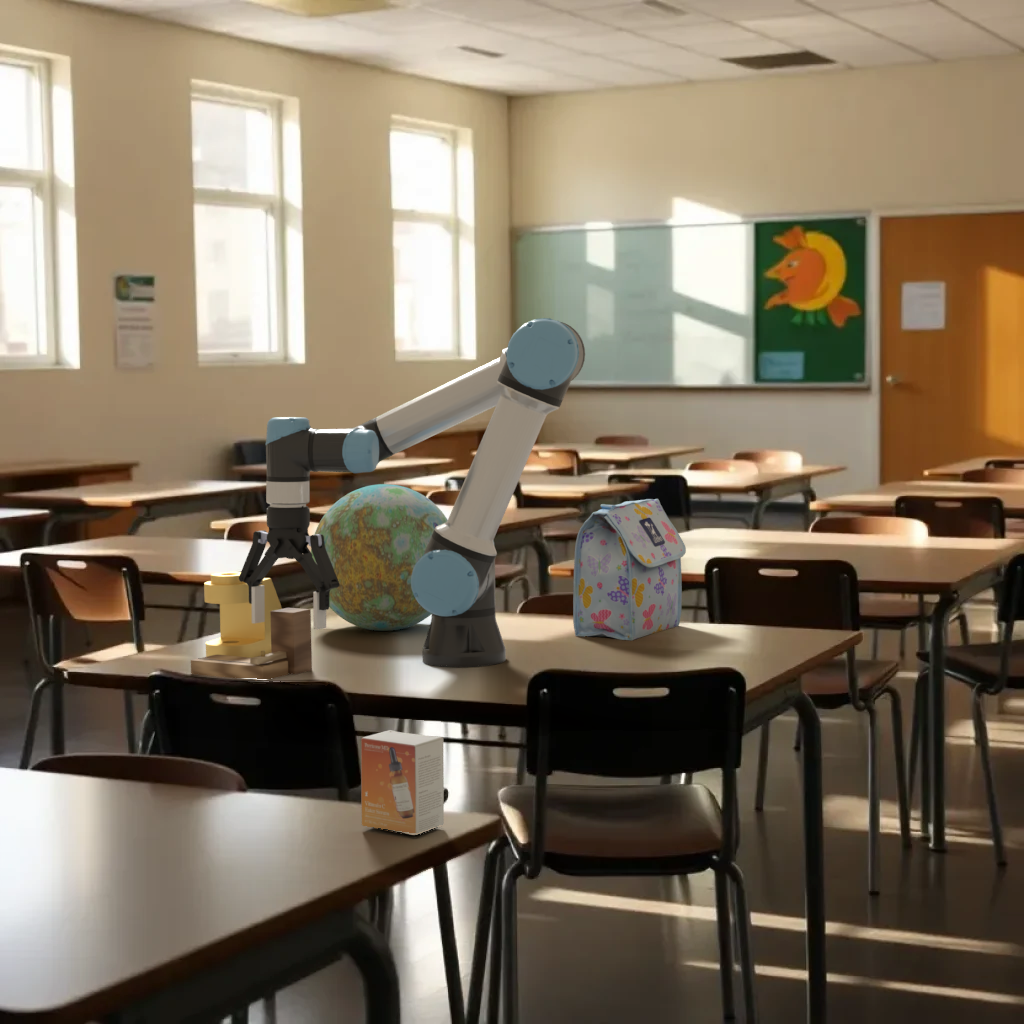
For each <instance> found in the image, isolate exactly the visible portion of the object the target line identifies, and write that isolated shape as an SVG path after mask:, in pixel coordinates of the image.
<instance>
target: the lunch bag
mask: <svg viewBox="0 0 1024 1024" xmlns="http://www.w3.org/2000/svg"><path fill="white" fill-rule="evenodd" d="M600 508H601V509H598V510H597V511H593V512H592V513H591V514H590V516H589V517H588V518H587V519H586V520H585V521H584V522H583V524H582V525H581V527H580V528H579V530H578V533H577V537H576V540H575V546H574V563H573V595H572V596H573V599H572V600H573V601H572V604H573V608H572V610H573V611H572V612H573V613H572V614H573V619H572V620H573V623H572V624H573V629H574V635H575V637H585V636H587V637H608V638H613V639H615V640H616V639H617V640H621V641H622V640H623V641H625V640H626V641H634V640H638V639H640V638H643V637H646V636H648V635H651V634H655V633H658V632H662V631H665V630H668V628H669V629H673V628H676V627H679V625H680V622H681V618H682V617H681V616H682V592H683V591H682V584H683V583H682V578H683V577H682V560H681V559H682V558H683V557H684V556H685V554H686V552H687V548H686V544H685V542H684V540H683V539H682V538H681V535H680V534H679V532H678V530H677V529H676V527H675V526H674V524H673V523H672V521H671V520H670V519H669V516H668V515H667V513H666V512H665V510H664V508H663V506H662V505H661V502H660V500H659V498H655V499H653V498H646V499H640V500H639V499H638V500H629V501H628V500H627V501H623V502H621V503H619V504H605V503H602V504H600Z"/></svg>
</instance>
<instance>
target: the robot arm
mask: <svg viewBox="0 0 1024 1024" xmlns="http://www.w3.org/2000/svg"><path fill="white" fill-rule="evenodd" d="M585 359H586V349H585V343H584V341H583V338H582V337H581V335H580V334H579V332H578V331H577V330H576V329H575V328H573V327H572V326H571V325H569V324H567V323H565V322H563V321H559V320H555V319H552V318H550V317H549V318H547V317H546V318H545V317H542V318H541V317H540V318H535V319H532V320H529V321H528V322H525V323H523V324H522V325H521V326H519V328H518V329H516V331H515V332H513V334H512V336H511V338H510V339H509V341H508V344H507V347H505V348H503V349H502V352H501V355H500V356H499V357H498V358H496V359H493V360H492V361H490V362H488V363H486V364H483V365H482V366H479V367H477V368H475V369H473V370H470V371H469V372H467V373H465V374H462V375H461V376H458V377H456V378H455V379H452V380H450V381H448V382H446V383H444V384H442V385H439V386H438V387H436V388H434V389H432V390H430V391H428V392H425V393H424V394H421V395H419V396H417V397H415V398H414V399H411V400H409V401H407V402H404V403H402V404H401V405H399V406H396V407H394V408H392V409H390V410H388V411H386V412H384V413H382V414H380V415H378V416H377V417H374V418H371V419H369V420H366V421H365V422H362V423H361V424H359V425H357V426H355V427H349V428H348V427H347V428H337V429H336V428H327V429H325V428H324V429H323V428H322V429H319V428H312V427H311V425H310V420H309V418H307V417H300V416H299V417H298V416H297V417H296V416H287V417H286V416H283V417H282V416H279V417H278V416H277V417H271V418H270V419H269V420H268V421H267V424H266V437H265V438H266V441H265V455H266V456H265V459H266V460H265V461H266V463H265V464H266V481H265V482H266V488H265V489H266V491H265V492H266V494H265V496H266V497H265V498H266V503H267V504H268V505H269V506H267V508H266V526H267V527H268V532H267V530H266V529H265V530H258V531H257V530H255V531H254V532H253V535H252V544H251V547H250V549H249V550H248V551H249V552H248V554H247V556H246V559H245V561H244V564H243V566H242V569H241V571H240V572H241V573H240V576H239V580H240V581H241V582H245V583H247V585H248V587H249V603H250V604H252V623H260V622H265V601H264V585H260V584H262V583H261V582H262V580H263V579H264V578H266V577H267V575H268V574H269V572H270V570H271V569H272V567H273V566H274V565H275V563H276V562H277V560H278V559H289V560H295V561H296V562H298V563H299V564H300V565H301V567H302V569H303V570H304V571H305V573H306V574H307V577H308V578H309V580H310V581H311V582H312V584H313V585H314V587H315V588H316V590H315V591H313V592H312V593H313V596H312V597H313V602H312V603H313V605H312V607H313V621H312V622H313V630H321V629H327V610H329V609H330V607H329V593H330V590H331V589H334V588H337V587H339V581H338V579H337V576H336V574H335V571H334V569H333V566H332V563H331V561H330V558H329V556H328V553H327V551H326V548H325V543H324V536H323V535H322V534H316V535H314V534H312V535H310V534H309V527H310V525H311V515H310V514H311V513H310V512H311V509H310V508H309V506H307V504H309V503H310V502H311V501H310V476H311V475H310V474H311V473H310V472H313V473H317V472H318V473H319V472H324V473H326V472H328V473H353V474H362V473H372V472H374V471H375V470H376V469H377V466H378V464H379V463H380V462H382V461H384V460H385V459H388V458H390V457H392V456H394V455H396V454H398V453H400V452H402V451H404V450H406V449H408V448H411V447H412V446H415V445H417V444H419V443H422V442H423V441H425V440H428V439H429V438H431V437H433V436H435V435H438V434H440V433H443V432H445V431H447V430H448V429H450V428H453V427H455V426H457V425H459V424H461V423H464V422H465V421H468V420H470V419H472V418H473V417H476V416H478V415H480V414H482V413H484V412H486V411H488V410H490V409H493V408H494V410H493V412H492V414H491V417H490V420H489V421H488V424H487V427H486V429H485V431H484V434H483V436H482V438H481V441H480V443H479V445H478V448H477V449H476V453H475V455H474V457H473V459H472V462H471V465H470V467H469V469H468V470H467V471H468V472H467V474H466V476H465V478H464V481H463V483H462V486H461V487H460V488H461V489H460V491H459V493H458V495H457V497H456V499H455V502H454V504H453V507H452V510H451V512H450V514H449V516H448V518H447V520H448V521H447V522H446V523H444V524H441V525H439V526H437V527H435V529H434V532H433V534H432V536H431V538H430V541H429V543H428V545H427V548H426V550H425V552H424V555H423V556H422V557H421V558H420V559H419V560H418V562H417V563H416V564H415V566H414V568H413V572H412V576H411V588H412V592H413V594H414V597H415V598H416V600H417V602H418V603H419V604H420V605H421V606H422V607H423V608H424V609H425V610H427V611H428V612H430V613H432V614H431V620H430V623H429V626H428V629H427V630H428V631H427V634H426V638H425V640H424V644H423V648H422V650H421V651H422V662H423V663H424V664H425V665H430V666H434V667H435V666H436V667H443V668H444V667H445V668H475V667H477V668H479V667H486V666H493V665H499V664H502V663H504V662H506V661H507V660H506V658H507V657H506V656H507V655H506V654H507V653H506V650H507V649H506V645H505V644H504V640H503V637H502V634H501V630H500V628H499V625H498V622H497V617H496V560H495V559H496V557H497V555H498V553H497V552H498V551H497V550H496V547H495V541H494V539H495V537H496V534H497V532H498V529H499V527H500V525H501V524H502V523H501V522H502V521H503V518H504V516H505V513H506V511H507V508H508V507H509V503H510V501H511V500H512V497H513V494H514V492H515V491H516V488H517V485H518V484H519V481H520V478H521V476H522V474H523V472H524V469H525V467H526V464H527V462H528V460H529V457H530V455H531V453H532V450H533V448H534V446H535V444H536V441H537V439H538V437H539V434H540V432H541V429H542V427H543V424H544V422H545V420H546V418H547V415H549V414H550V413H552V412H555V411H558V410H559V409H560V407H561V405H562V403H563V400H564V398H565V396H566V394H567V391H568V390H569V387H570V385H571V382H572V381H573V380H575V379H576V377H578V375H579V374H580V372H581V370H583V366H584V364H585V362H586V361H585ZM267 543H268V544H269V547H268V548H267V550H266V551H265V553H264V550H265V549H266V546H267ZM308 546H309V547H310V549H309V547H308ZM311 550H312V553H313V556H314V558H315V561H316V562H315V561H314V559H313V558H312V554H311ZM263 554H264V556H263ZM262 556H263V557H262ZM316 563H317V564H316ZM259 585H260V586H259Z"/></svg>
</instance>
